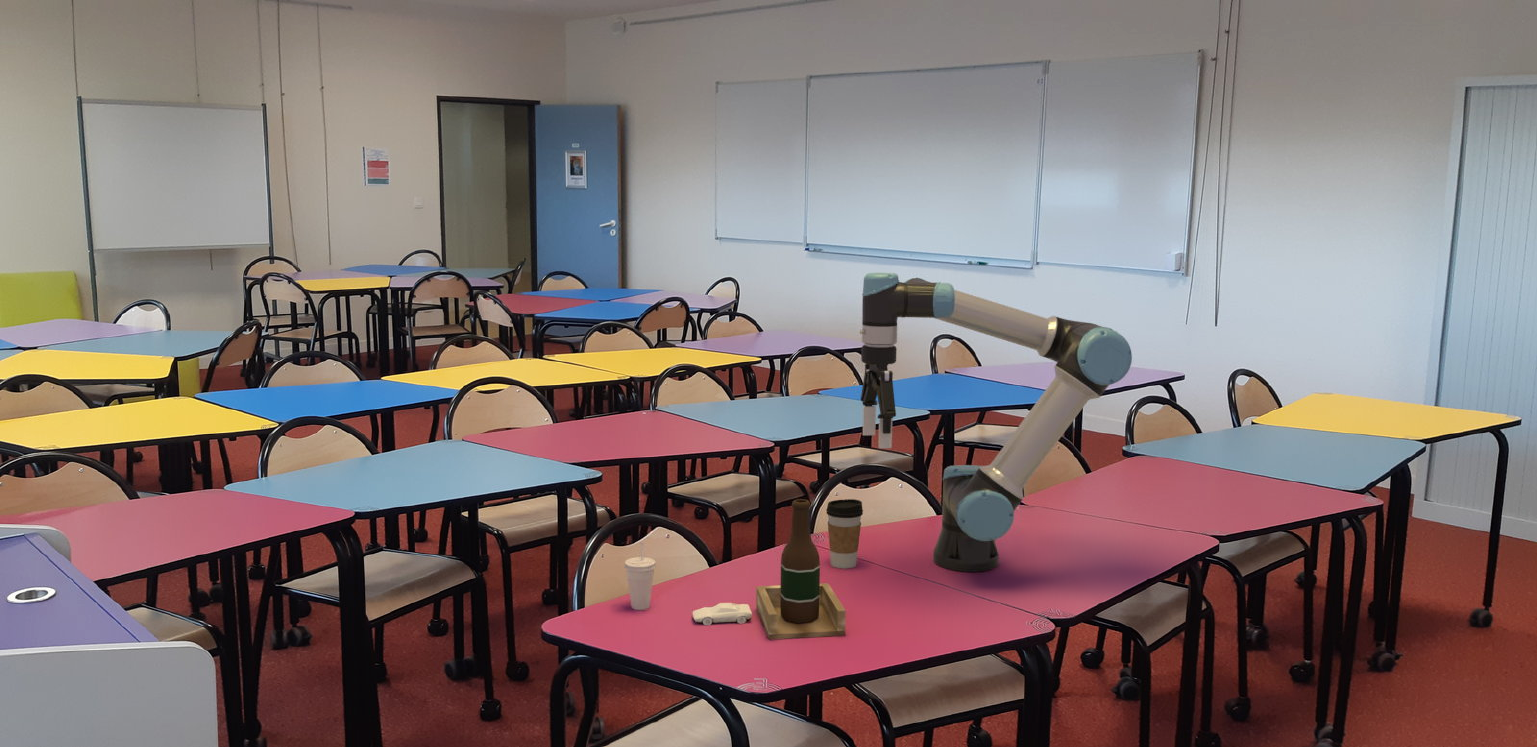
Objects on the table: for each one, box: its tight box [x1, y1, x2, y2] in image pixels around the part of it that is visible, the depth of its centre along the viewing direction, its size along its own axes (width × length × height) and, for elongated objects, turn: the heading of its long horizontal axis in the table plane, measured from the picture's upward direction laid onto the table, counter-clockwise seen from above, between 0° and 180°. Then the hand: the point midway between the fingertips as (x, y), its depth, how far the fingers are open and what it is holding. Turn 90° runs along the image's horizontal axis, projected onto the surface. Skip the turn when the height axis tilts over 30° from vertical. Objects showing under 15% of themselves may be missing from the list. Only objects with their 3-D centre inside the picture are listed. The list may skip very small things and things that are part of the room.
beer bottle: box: [780, 498, 821, 624], centre depth 217 cm, size 8×8×24 cm
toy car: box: [692, 602, 753, 626], centre depth 220 cm, size 6×12×3 cm, turn 99°
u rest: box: [755, 582, 847, 641], centre depth 219 cm, size 15×16×5 cm
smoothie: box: [624, 539, 657, 611], centre depth 226 cm, size 6×6×14 cm
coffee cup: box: [826, 498, 864, 570], centre depth 254 cm, size 8×8×15 cm
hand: (876, 441), depth 239 cm, fingers open, 13 cm apart
